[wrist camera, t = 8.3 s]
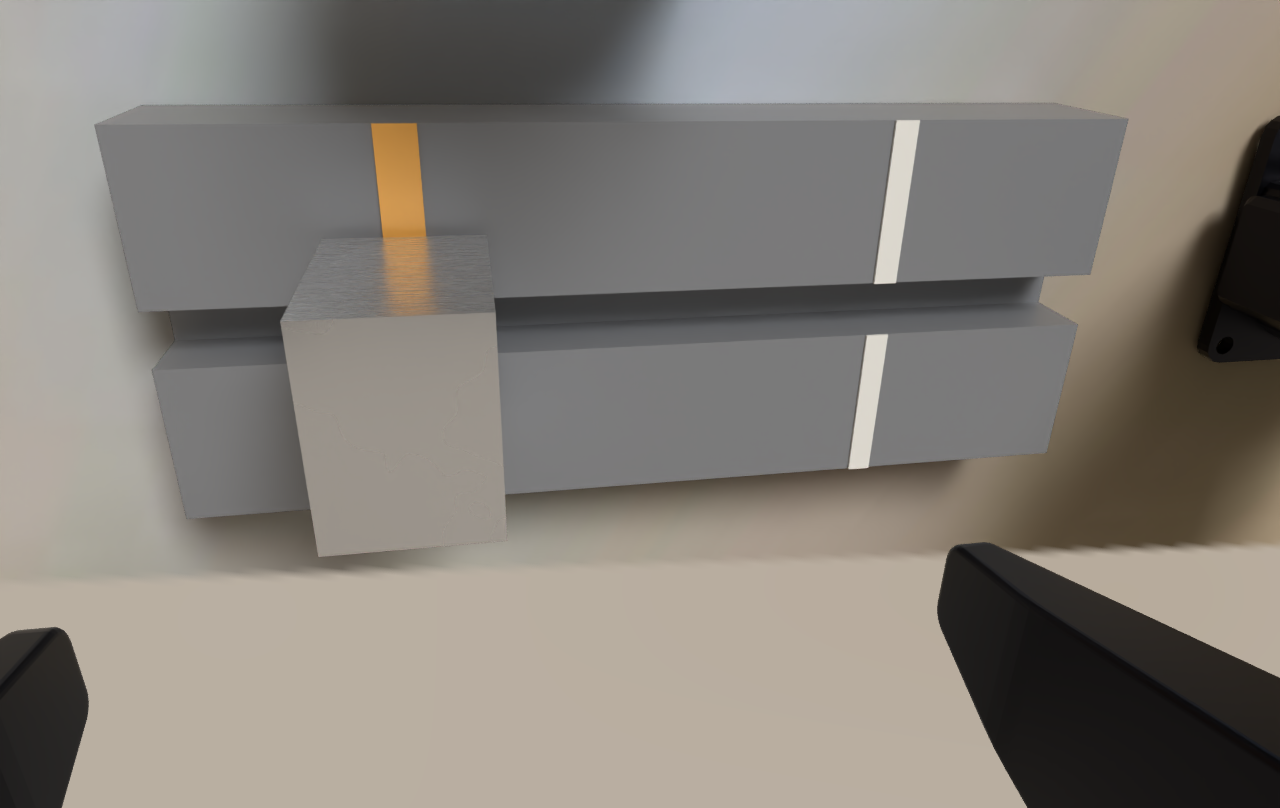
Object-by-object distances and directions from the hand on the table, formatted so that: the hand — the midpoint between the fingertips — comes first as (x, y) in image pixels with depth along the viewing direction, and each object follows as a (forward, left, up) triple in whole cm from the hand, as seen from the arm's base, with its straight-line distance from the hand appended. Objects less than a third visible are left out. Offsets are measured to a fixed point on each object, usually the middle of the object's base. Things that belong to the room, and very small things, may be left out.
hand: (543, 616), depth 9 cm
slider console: (-3, +1, -13) cm, 13 cm away
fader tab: (+2, +1, -11) cm, 11 cm away
